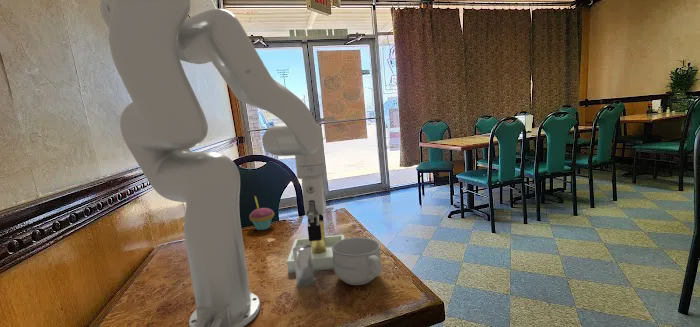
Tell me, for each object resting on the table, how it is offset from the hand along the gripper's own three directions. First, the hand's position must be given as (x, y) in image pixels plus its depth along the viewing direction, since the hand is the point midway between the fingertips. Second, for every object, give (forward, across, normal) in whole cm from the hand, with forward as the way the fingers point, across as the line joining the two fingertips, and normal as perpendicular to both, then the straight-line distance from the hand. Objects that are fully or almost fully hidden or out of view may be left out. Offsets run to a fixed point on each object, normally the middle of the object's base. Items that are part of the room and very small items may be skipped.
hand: (317, 233), depth 82 cm
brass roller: (+5, 0, 0) cm, 5 cm away
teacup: (+6, -16, -11) cm, 20 cm away
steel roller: (+6, -14, +2) cm, 16 cm away
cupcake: (+6, +26, +22) cm, 34 cm away
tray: (+6, -2, 0) cm, 6 cm away
